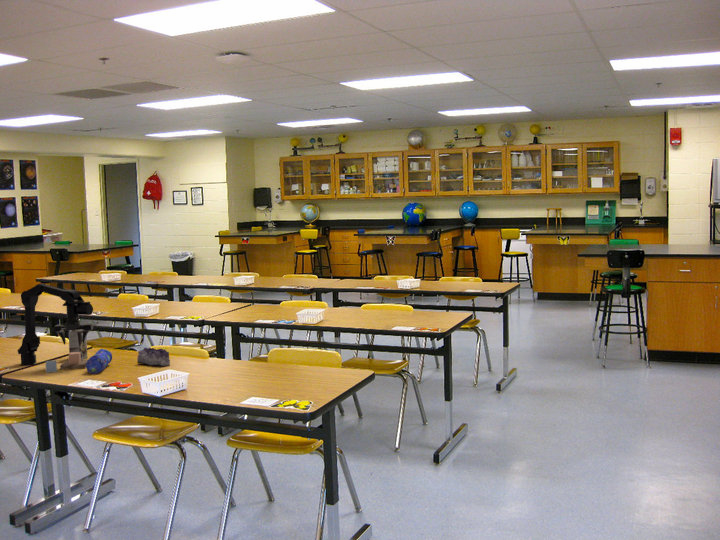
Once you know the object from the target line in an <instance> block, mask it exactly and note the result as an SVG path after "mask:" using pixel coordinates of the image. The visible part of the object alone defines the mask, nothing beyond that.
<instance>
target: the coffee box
mask: <svg viewBox="0 0 720 540" xmlns="http://www.w3.org/2000/svg"><path fill="white" fill-rule="evenodd" d="M83 331H84V329H76V330H74V331H72V330H69V331H68V350H69V352H68V354H69V353H71V352H81V360H86V359H87V358H88V341H87V340H88V339H87V336H88V335H87V336H86V339H85V342H84V344H83Z"/></svg>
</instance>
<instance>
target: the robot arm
mask: <svg viewBox="0 0 720 540" xmlns="http://www.w3.org/2000/svg"><path fill="white" fill-rule="evenodd" d="M43 293H44V294H46V295H47V294H48V295H51V296H54V297H57V298H60V299H61V300H63V301H64V303H63V304H62V307H65V308H66V321H65V322H64V324H56V325H54V326H53V328H52V332H53V333H55V334H58V335H59V337H60V338H61V340H62V342H63V345H66V343H67V341H66V333H65V332H70V331H74V330H79V329H84V331H83V344H84V342H85V339H86V336H88V333H89V332H91V331H92V330H93V329H94V324H93V323H85V324H83V325H81V322H80V315H83V316H90V315H92V314H93V312H94V307H93V305H92V304H91V301H85V300H84V298H83V297H82V296H81V294H80V292H79V291H78V290H77V289H64V288H60V287H57V286H52V285H49V284H46V283H43V282H42V283H37V284H36V285H35V286H33V287H31V288H29V289H27V290H24V291H22V292H21V293H20V300H21V304H22V306H23V307H24V329H25V330H24V331H25V333H24V335H23V338H22V341H21V346H20V347H19V348H18V349H17V351H16V352H17V354H18V355H20V366H33V365H35V364H36V363H37V354H35V353H36V352H37V351H38V349H39V347H40V345H41V336H40V335H37V333H36V306H37V304H38V303H39V302H38V301H39V297H40V296H41V295H43Z"/></svg>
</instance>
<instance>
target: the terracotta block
mask: <svg viewBox="0 0 720 540" xmlns="http://www.w3.org/2000/svg"><path fill="white" fill-rule="evenodd" d="M68 361H69V364H77V363H80V362H81V352H71V353H69V352H68Z"/></svg>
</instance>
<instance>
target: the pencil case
mask: <svg viewBox="0 0 720 540" xmlns="http://www.w3.org/2000/svg"><path fill="white" fill-rule="evenodd" d="M87 360H88V361H87V363H86V368H85V369H86V370H87V372H88V373H90V374H92V375H94V374H95V375H96V374H99V373H101V372H102V371H103V370H105V368H106V367H108V365H109V364H111V362H112V361H113V353H112V352H111V351H110V350H108V349H103V348H101V349H99V350H97V351H96V352H95V353H94V354H93V356H90V357H89V359H87Z"/></svg>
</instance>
